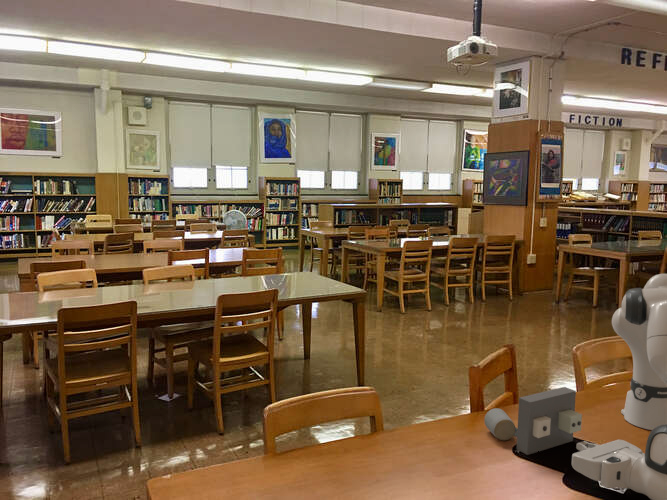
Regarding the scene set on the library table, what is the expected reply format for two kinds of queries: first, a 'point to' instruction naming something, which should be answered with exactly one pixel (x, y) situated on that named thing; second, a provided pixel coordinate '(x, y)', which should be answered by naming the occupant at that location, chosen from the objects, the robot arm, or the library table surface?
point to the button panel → (543, 406)
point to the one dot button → (541, 426)
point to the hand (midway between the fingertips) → (579, 444)
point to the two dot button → (569, 421)
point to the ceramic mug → (500, 424)
